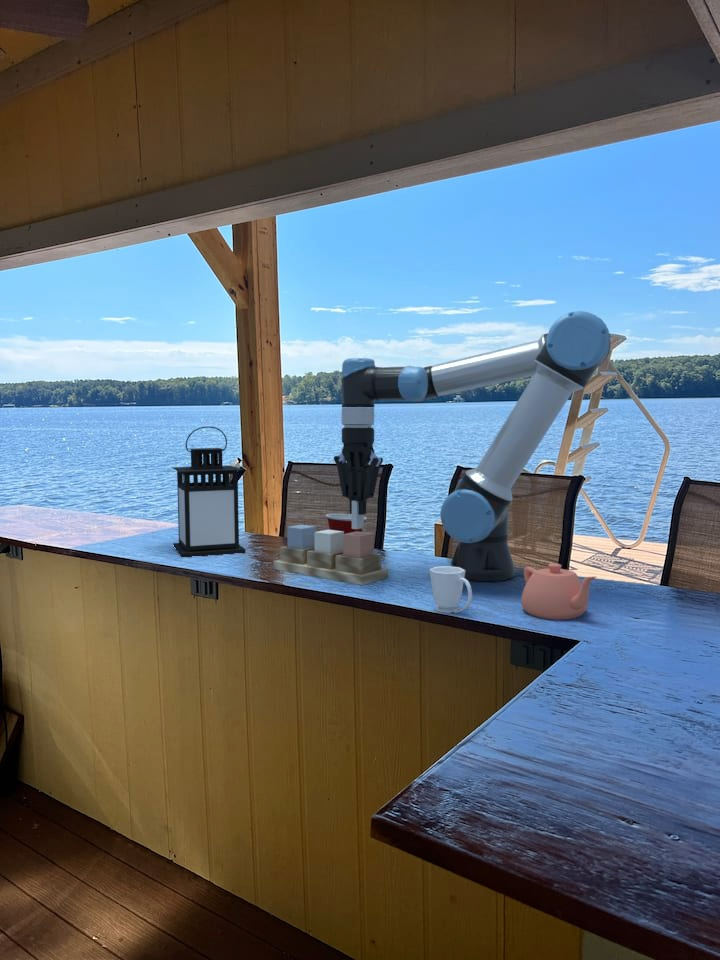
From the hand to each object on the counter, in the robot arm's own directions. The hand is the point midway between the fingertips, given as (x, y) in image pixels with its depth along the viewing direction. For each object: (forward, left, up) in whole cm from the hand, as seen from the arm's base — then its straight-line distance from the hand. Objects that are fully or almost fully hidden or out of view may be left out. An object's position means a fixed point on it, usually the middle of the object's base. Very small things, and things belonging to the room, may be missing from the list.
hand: (357, 528), depth 171 cm
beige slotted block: (+9, 0, -12) cm, 15 cm away
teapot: (-49, 0, -12) cm, 51 cm away
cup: (-33, +11, -12) cm, 37 cm away
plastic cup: (+16, -15, -12) cm, 25 cm away
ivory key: (+9, 0, -8) cm, 12 cm away
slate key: (+18, 0, -7) cm, 19 cm away
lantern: (+56, -2, -12) cm, 57 cm away
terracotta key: (0, 0, -7) cm, 7 cm away
